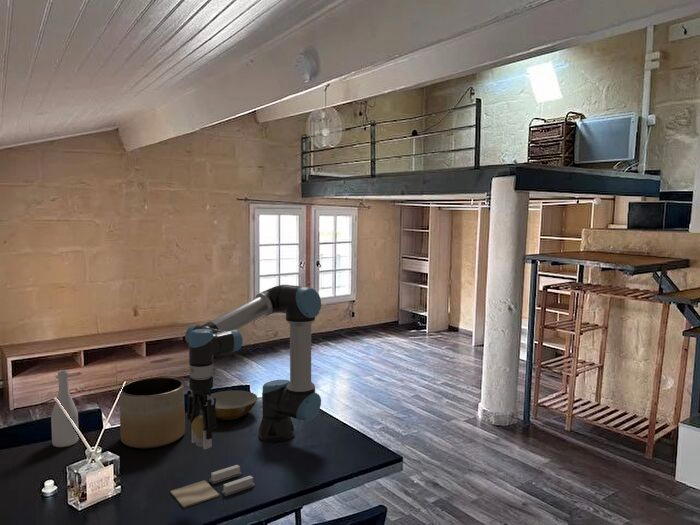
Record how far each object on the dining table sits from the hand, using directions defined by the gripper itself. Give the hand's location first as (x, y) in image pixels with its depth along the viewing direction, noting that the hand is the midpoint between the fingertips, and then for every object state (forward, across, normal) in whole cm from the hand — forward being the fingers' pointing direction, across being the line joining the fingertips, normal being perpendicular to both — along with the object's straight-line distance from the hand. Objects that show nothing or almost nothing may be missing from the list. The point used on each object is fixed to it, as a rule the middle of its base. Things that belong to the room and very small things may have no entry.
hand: (201, 444), depth 174 cm
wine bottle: (+17, -74, -16) cm, 78 cm away
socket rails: (+17, +2, +10) cm, 20 cm away
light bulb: (0, 0, 0) cm, 0 cm away
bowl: (+16, -50, +47) cm, 71 cm away
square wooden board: (+17, -1, -2) cm, 17 cm away
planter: (+17, -53, +11) cm, 57 cm away
